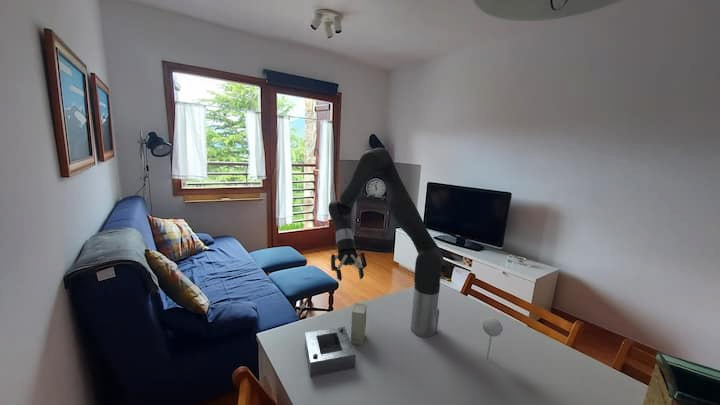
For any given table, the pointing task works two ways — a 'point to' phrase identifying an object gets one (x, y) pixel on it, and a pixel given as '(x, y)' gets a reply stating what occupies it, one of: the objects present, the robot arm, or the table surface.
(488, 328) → the lollipop
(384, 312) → the table surface
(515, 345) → the table surface
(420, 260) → the robot arm
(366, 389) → the table surface
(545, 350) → the table surface
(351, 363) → the housing
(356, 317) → the skincare box
